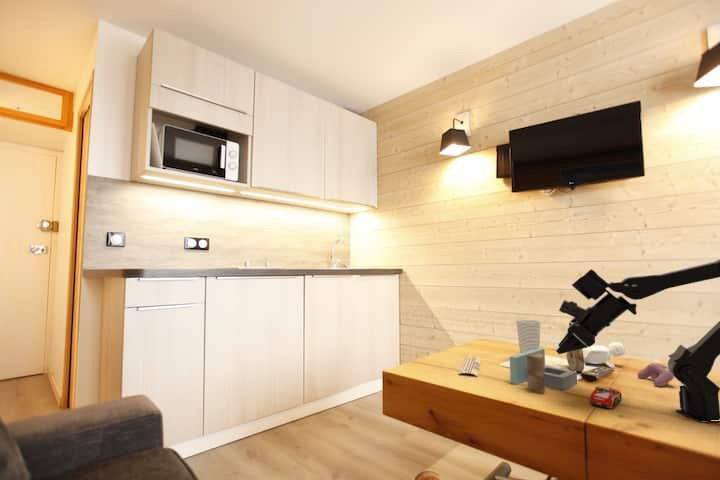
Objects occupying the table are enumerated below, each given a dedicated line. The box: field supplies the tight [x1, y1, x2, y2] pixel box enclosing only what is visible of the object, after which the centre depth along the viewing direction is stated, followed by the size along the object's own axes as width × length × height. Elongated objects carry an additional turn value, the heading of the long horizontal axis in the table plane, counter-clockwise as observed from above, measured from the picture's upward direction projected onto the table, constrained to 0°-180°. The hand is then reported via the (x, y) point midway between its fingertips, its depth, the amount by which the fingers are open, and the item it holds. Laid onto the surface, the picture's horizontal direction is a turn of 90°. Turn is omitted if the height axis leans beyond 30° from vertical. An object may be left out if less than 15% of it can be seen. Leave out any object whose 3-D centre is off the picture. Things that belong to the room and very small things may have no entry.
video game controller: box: [637, 362, 675, 388], centre depth 110 cm, size 10×5×7 cm, turn 169°
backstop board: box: [509, 347, 546, 386], centre depth 115 cm, size 2×20×8 cm, turn 130°
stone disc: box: [565, 349, 585, 372], centre depth 124 cm, size 10×4×10 cm, turn 163°
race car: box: [589, 385, 623, 409], centre depth 94 cm, size 13×5×4 cm, turn 132°
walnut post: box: [527, 353, 546, 394], centre depth 103 cm, size 4×4×10 cm
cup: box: [515, 319, 541, 354], centre depth 135 cm, size 8×8×16 cm
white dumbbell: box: [582, 341, 626, 369], centre depth 131 cm, size 9×8×15 cm
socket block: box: [544, 365, 578, 392], centre depth 109 cm, size 10×10×4 cm
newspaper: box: [458, 356, 482, 377], centre depth 127 cm, size 24×7×2 cm, turn 158°
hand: (558, 349), depth 100 cm, fingers open, 9 cm apart
